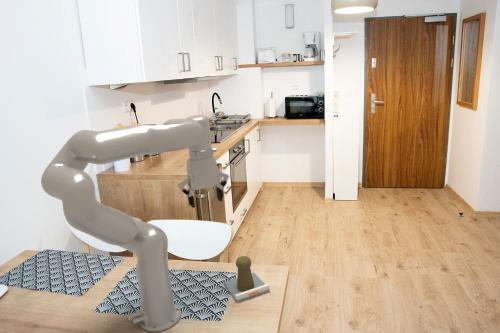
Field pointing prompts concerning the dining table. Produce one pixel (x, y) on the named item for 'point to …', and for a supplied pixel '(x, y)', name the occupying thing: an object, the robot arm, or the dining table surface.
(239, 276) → the olive brown pepper mill
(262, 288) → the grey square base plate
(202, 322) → the dining table surface
